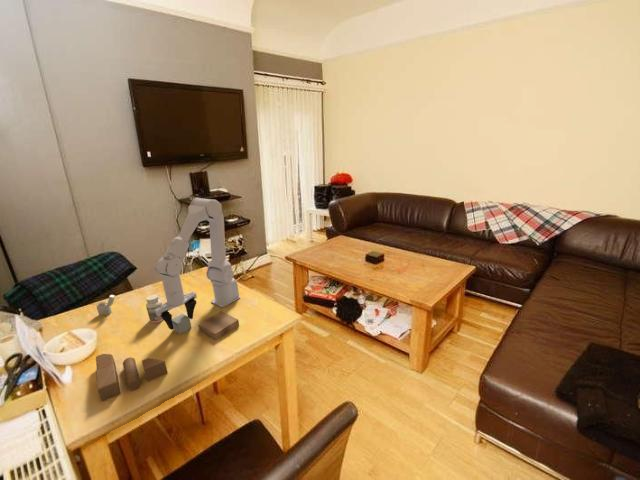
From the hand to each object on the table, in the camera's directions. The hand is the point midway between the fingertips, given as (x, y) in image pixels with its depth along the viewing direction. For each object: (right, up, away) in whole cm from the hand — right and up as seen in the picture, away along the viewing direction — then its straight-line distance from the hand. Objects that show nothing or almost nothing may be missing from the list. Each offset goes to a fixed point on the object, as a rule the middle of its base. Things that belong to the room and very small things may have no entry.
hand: (181, 323), depth 115 cm
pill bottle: (-12, -1, +7) cm, 14 cm away
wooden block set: (-7, -10, -18) cm, 22 cm away
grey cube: (0, -2, +1) cm, 3 cm away
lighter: (-34, 0, +13) cm, 37 cm away
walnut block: (+14, -2, +1) cm, 14 cm away
